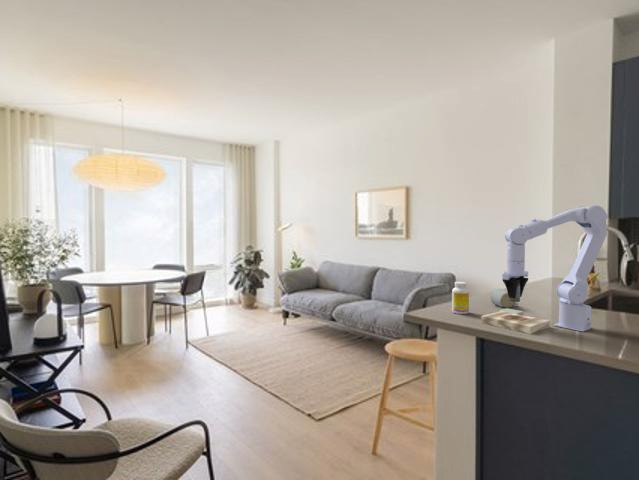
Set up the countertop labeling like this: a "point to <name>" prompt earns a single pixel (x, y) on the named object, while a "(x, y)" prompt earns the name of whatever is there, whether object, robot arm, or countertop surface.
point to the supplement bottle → (460, 298)
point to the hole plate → (515, 322)
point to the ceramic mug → (502, 299)
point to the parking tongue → (512, 311)
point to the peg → (516, 295)
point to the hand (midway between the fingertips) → (515, 297)
